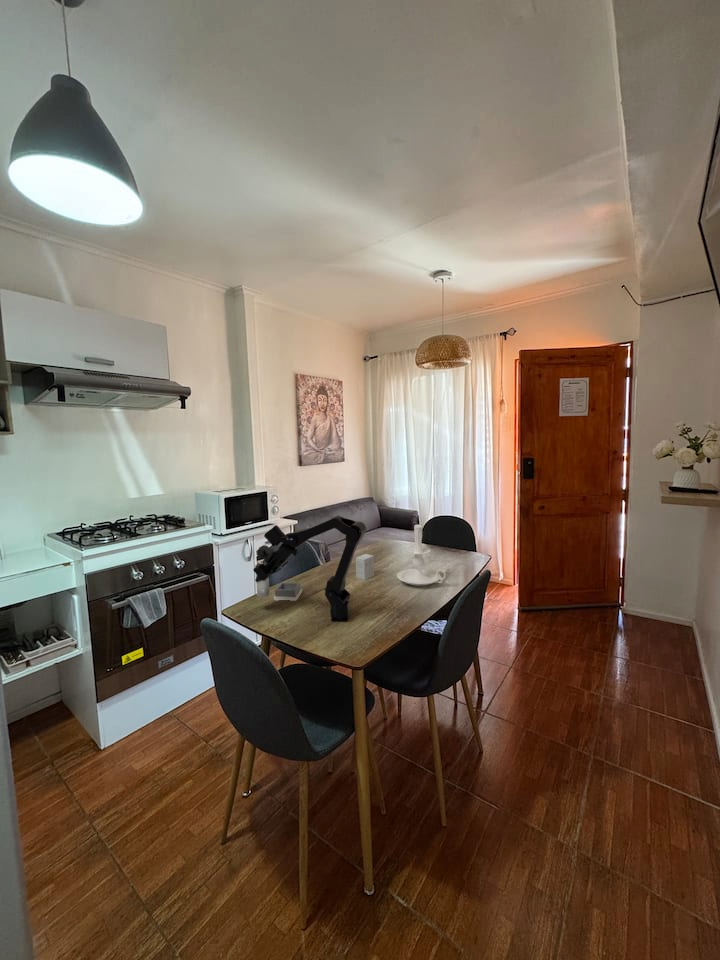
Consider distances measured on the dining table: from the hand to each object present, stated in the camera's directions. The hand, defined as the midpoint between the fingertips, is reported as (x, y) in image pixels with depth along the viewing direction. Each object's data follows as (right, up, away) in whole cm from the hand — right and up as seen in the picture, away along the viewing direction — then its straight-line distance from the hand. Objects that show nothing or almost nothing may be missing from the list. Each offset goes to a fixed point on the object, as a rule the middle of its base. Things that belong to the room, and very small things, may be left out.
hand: (259, 579), depth 165 cm
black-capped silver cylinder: (+2, -7, 0) cm, 7 cm away
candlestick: (+71, -8, +25) cm, 76 cm away
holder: (+9, -11, +14) cm, 20 cm away
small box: (+44, -8, +35) cm, 57 cm away
